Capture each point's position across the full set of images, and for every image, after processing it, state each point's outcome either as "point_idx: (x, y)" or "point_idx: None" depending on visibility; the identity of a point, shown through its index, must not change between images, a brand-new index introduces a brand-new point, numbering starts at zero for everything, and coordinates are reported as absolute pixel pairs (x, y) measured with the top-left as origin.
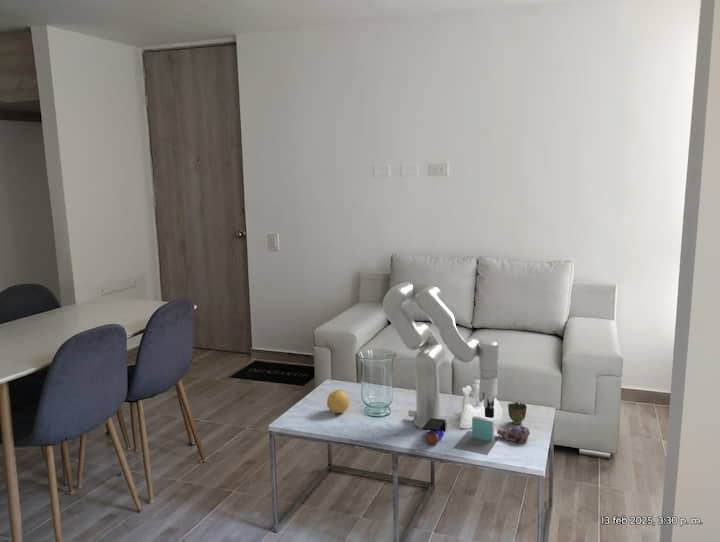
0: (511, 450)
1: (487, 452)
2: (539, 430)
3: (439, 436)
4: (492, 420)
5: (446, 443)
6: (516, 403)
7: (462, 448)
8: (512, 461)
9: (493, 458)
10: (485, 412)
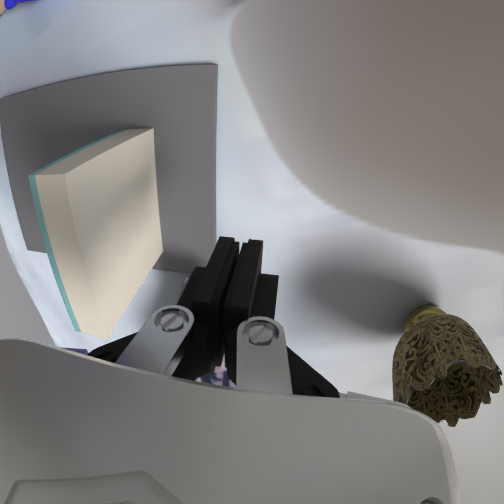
0: (120, 323)
1: (40, 247)
2: (359, 391)
3: (4, 5)
4: (92, 330)
5: (28, 38)
6: (495, 384)
7: (10, 138)
8: (59, 325)
9: (33, 271)
10: (210, 266)
